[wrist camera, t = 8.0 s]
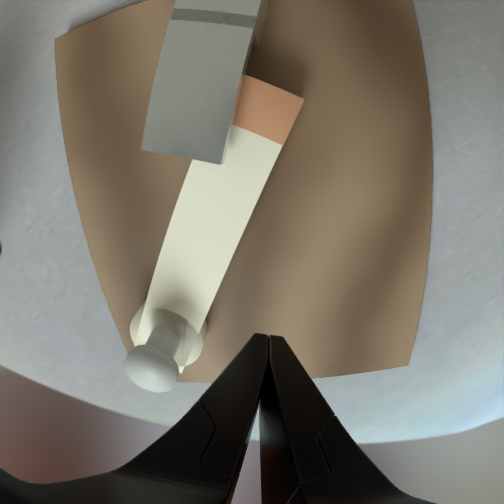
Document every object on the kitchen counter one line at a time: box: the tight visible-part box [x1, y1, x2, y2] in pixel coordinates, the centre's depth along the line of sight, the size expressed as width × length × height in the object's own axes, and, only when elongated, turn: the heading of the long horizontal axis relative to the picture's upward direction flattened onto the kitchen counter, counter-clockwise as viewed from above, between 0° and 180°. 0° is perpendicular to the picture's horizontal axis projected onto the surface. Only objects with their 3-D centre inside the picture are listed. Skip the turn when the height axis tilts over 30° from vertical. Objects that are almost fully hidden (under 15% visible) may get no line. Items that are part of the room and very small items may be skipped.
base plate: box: [55, 0, 433, 383], centre depth 15 cm, size 18×22×1 cm
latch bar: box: [124, 75, 305, 392], centre depth 13 cm, size 15×4×4 cm, turn 157°
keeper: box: [141, 0, 268, 165], centre depth 10 cm, size 3×7×3 cm, turn 167°
